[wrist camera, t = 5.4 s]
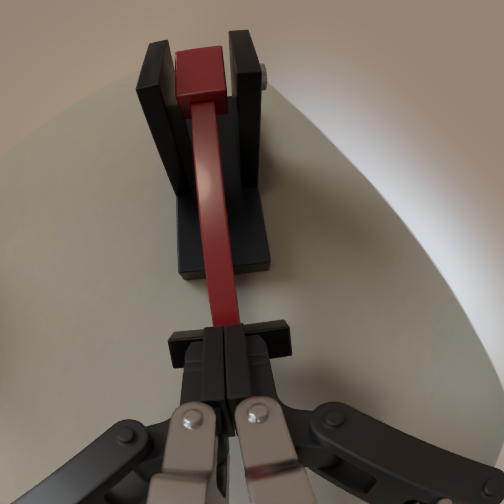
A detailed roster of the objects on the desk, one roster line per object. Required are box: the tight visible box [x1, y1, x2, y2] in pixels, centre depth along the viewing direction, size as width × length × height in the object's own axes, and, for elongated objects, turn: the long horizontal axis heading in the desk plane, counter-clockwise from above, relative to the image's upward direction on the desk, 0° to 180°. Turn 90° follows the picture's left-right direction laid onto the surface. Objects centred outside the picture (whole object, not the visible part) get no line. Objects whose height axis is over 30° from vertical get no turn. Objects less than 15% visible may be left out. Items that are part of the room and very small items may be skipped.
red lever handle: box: [168, 46, 292, 368], centre depth 12 cm, size 14×5×2 cm, turn 7°
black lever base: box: [136, 30, 270, 280], centre depth 15 cm, size 14×6×10 cm, turn 7°
